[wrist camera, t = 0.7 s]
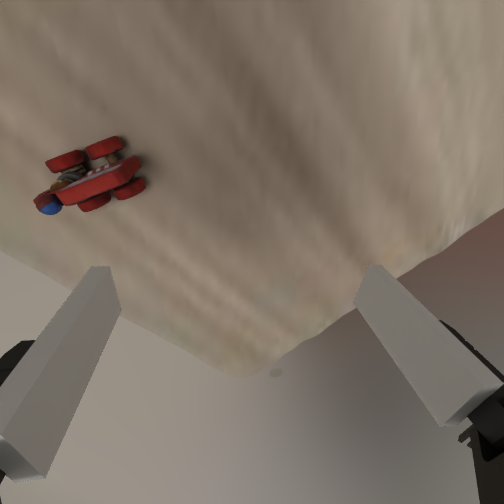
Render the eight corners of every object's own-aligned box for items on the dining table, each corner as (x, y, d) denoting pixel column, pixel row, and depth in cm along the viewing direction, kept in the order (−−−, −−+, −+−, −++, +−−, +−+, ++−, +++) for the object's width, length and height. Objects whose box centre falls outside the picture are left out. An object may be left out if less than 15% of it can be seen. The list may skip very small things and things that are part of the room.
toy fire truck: (43, 162, 31) (-27, 183, 22) (132, 129, 30) (98, 138, 21) (79, 210, 34) (32, 245, 26) (159, 182, 34) (139, 207, 25)
